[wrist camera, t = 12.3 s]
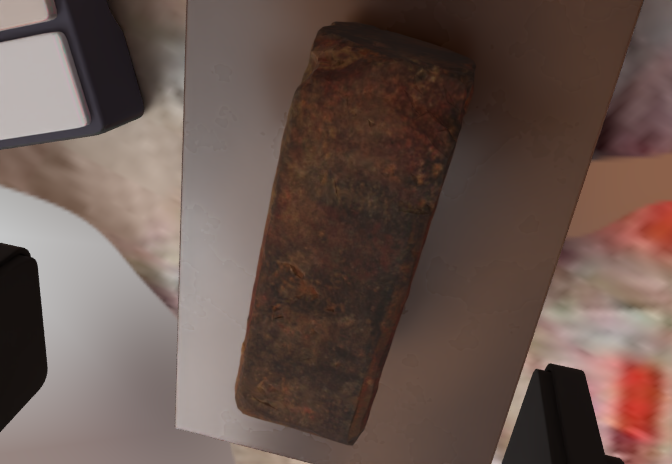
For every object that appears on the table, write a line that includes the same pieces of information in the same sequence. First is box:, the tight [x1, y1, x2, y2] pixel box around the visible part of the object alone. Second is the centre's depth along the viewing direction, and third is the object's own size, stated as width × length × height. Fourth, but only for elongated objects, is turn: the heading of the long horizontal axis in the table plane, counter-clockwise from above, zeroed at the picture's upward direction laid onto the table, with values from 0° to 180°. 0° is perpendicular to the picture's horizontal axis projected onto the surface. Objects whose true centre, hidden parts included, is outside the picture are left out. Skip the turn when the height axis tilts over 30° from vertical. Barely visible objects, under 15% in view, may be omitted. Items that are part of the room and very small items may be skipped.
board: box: [175, 0, 644, 464], centre depth 20 cm, size 12×22×2 cm, turn 172°
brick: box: [234, 21, 476, 446], centre depth 18 cm, size 11×4×5 cm, turn 167°
